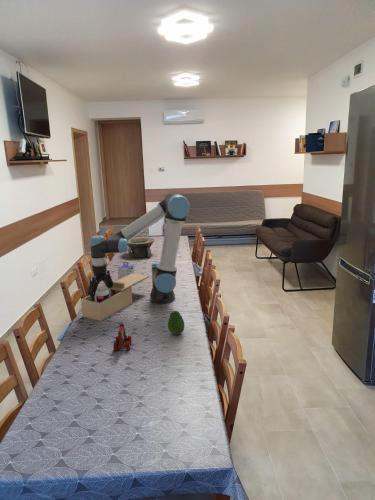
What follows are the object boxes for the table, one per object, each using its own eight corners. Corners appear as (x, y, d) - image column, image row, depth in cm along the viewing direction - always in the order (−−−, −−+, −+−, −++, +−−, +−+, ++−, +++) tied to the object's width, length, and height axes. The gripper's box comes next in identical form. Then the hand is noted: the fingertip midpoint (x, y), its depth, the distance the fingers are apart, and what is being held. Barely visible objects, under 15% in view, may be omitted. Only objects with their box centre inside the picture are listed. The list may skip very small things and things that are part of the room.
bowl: (130, 251, 336) (129, 235, 332) (158, 252, 332) (157, 236, 329) (121, 259, 310) (120, 242, 307) (151, 260, 307) (150, 243, 303)
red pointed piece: (132, 340, 172) (131, 319, 169) (129, 353, 160) (127, 332, 157) (117, 340, 172) (116, 320, 169) (113, 354, 160) (111, 332, 157)
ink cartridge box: (134, 281, 254) (133, 261, 251) (132, 284, 249) (131, 263, 245) (120, 281, 255) (119, 261, 252) (118, 284, 250) (117, 263, 246)
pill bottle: (97, 315, 198) (95, 290, 195) (94, 310, 205) (92, 286, 202) (112, 312, 202) (110, 287, 198) (108, 307, 209) (106, 283, 205)
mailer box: (132, 302, 217) (131, 286, 214) (101, 321, 193) (99, 303, 190) (114, 299, 223) (113, 283, 220) (82, 316, 198) (80, 299, 196)
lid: (149, 277, 230) (148, 271, 229) (121, 291, 206) (121, 285, 205) (132, 274, 236) (131, 268, 235) (103, 288, 212) (103, 281, 211)
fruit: (180, 339, 172) (180, 315, 169) (165, 336, 175) (164, 313, 172) (186, 332, 179) (186, 309, 176) (171, 329, 182) (171, 307, 179)
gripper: (107, 258, 208) (110, 294, 214) (78, 269, 188) (81, 309, 193) (118, 259, 205) (120, 296, 210) (89, 271, 185) (92, 311, 190)
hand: (102, 302), depth 202 cm, fingers open, 11 cm apart
